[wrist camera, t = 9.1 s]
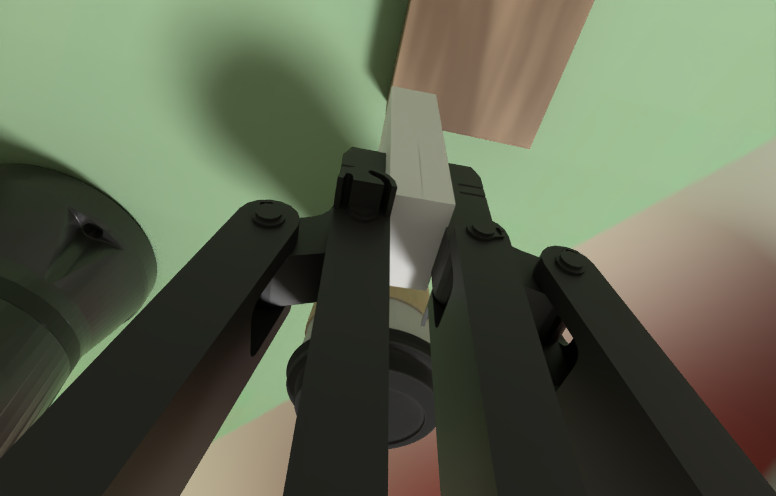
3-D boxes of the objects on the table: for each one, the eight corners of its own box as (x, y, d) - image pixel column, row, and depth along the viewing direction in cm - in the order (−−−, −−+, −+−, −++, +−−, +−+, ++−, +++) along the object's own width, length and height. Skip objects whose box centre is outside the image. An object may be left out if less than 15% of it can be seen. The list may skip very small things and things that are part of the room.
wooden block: (385, 118, 28) (529, 148, 29) (429, -83, 22) (610, -36, 23) (387, 98, 31) (520, 127, 32) (427, -88, 24) (591, -45, 25)
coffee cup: (370, 164, 33) (352, 329, 21) (465, 236, 37) (493, 410, 25) (295, 244, 38) (246, 415, 26) (385, 301, 41) (378, 473, 30)
